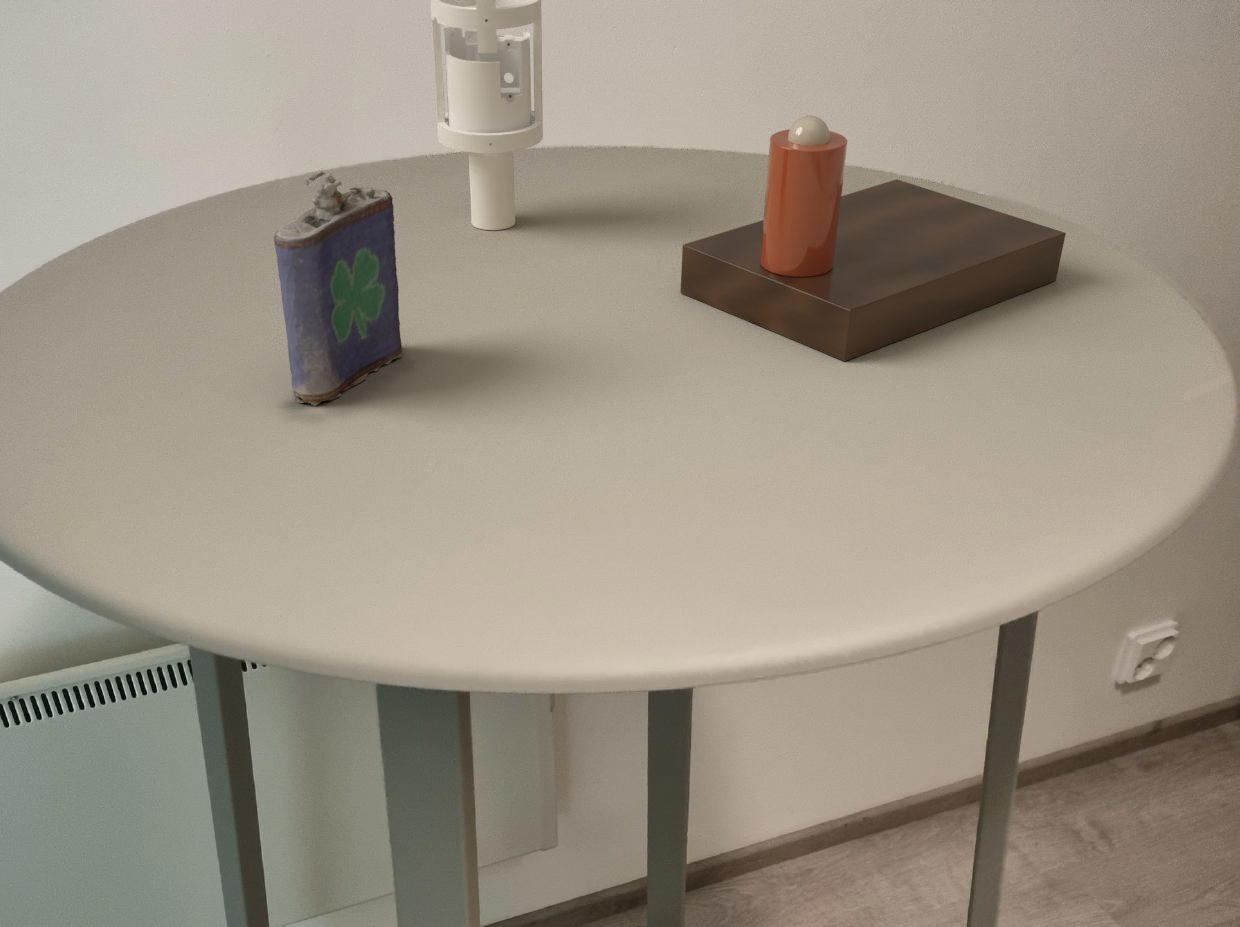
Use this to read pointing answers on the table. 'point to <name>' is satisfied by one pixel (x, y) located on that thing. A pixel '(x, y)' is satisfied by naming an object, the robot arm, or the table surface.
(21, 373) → the table surface
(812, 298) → the board
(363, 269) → the flask
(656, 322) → the table surface
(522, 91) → the white cylindrical fitting
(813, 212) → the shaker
